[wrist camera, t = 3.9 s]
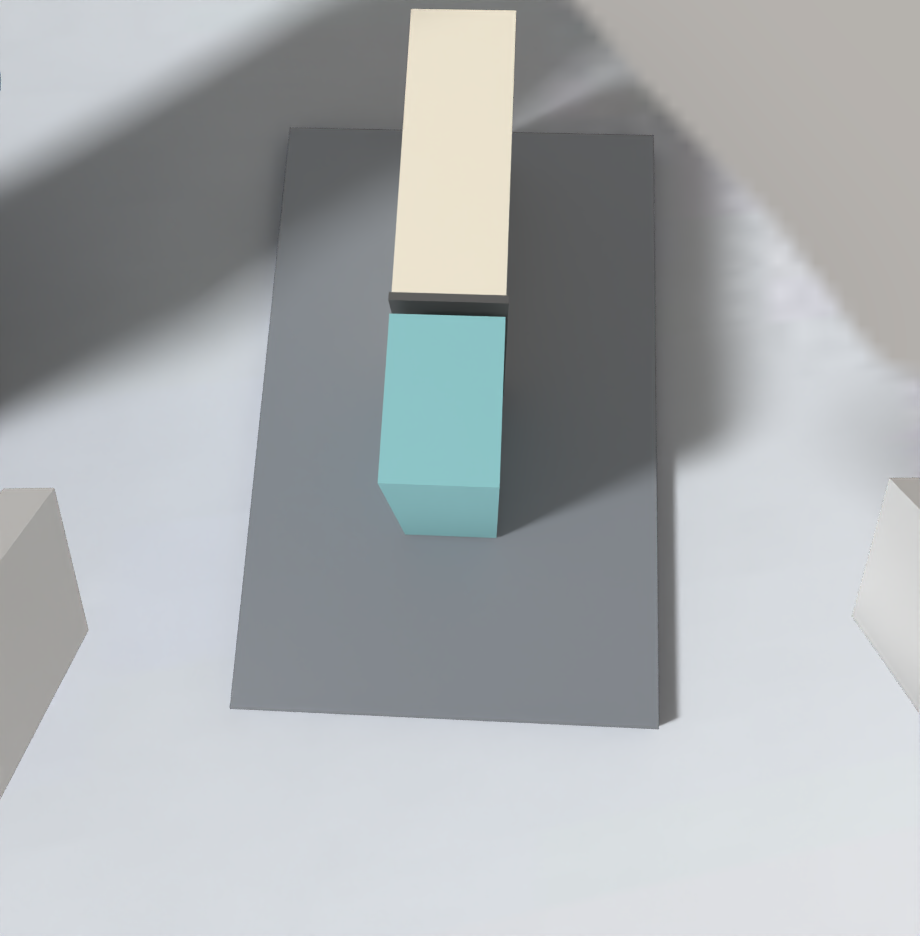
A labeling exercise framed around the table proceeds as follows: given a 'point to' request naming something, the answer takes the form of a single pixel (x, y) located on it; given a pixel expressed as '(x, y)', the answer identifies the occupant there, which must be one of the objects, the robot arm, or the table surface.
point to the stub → (443, 423)
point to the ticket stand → (523, 413)
